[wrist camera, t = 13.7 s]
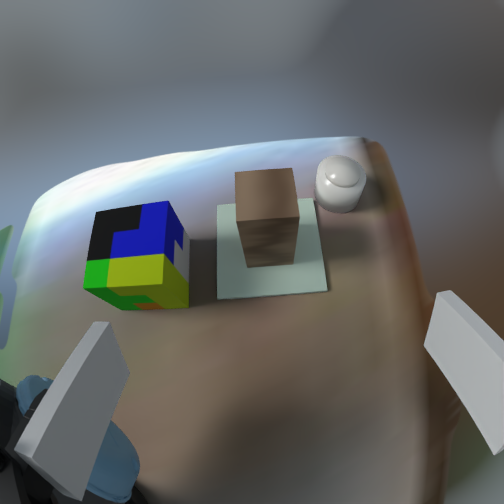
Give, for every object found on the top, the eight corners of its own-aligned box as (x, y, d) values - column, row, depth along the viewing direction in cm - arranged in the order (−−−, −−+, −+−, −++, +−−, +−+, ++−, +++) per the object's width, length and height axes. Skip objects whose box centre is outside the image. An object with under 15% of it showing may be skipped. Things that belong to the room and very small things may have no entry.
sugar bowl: (318, 214, 42) (323, 191, 37) (310, 177, 45) (314, 152, 40) (363, 212, 42) (373, 189, 36) (352, 175, 45) (360, 151, 39)
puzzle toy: (190, 239, 42) (168, 200, 33) (188, 308, 38) (162, 283, 29) (128, 246, 42) (96, 211, 33) (122, 310, 38) (83, 288, 29)
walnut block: (247, 267, 39) (236, 221, 28) (245, 227, 41) (234, 172, 30) (293, 264, 38) (300, 216, 27) (288, 224, 41) (292, 167, 30)
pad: (218, 299, 38) (217, 298, 37) (218, 207, 44) (217, 205, 43) (326, 291, 37) (327, 290, 37) (312, 200, 43) (312, 198, 42)
